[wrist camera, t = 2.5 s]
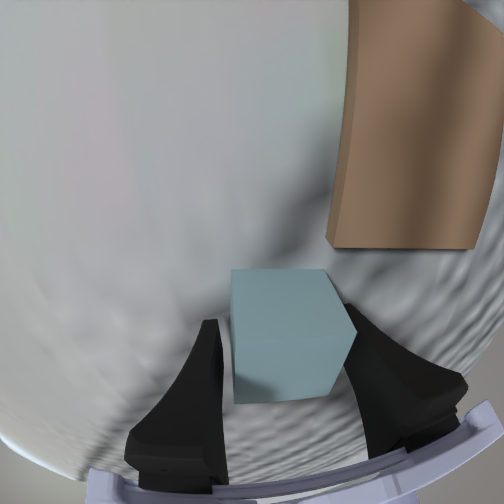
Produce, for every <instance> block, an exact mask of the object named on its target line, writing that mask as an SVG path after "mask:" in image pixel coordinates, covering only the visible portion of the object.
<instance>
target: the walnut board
mask: <svg viewBox="0 0 504 504" xmlns="http://www.w3.org/2000/svg"><path fill="white" fill-rule="evenodd" d="M503 124H504V38H503V33H502V32H501V31H500V30H499V29H498V28H497V27H495V26H494V25H493V24H492V23H491V22H490V21H488V20H487V19H486V18H485V17H483V16H482V15H481V14H480V13H478V12H477V11H476V10H474V9H473V8H472V7H470V6H469V5H468V4H466V3H465V2H463V1H462V0H349V34H348V58H347V75H346V89H345V101H344V112H343V122H342V131H341V139H340V148H339V155H338V163H337V170H336V177H335V184H334V190H333V197H332V203H331V209H330V215H329V221H328V226H327V232H326V239H327V240H328V241H329V243H330V244H331V246H332V247H333V248H421V249H474V248H475V245H476V242H477V239H478V236H479V233H480V230H481V227H482V224H483V221H484V218H485V214H486V211H487V208H488V204H489V200H490V196H491V192H492V188H493V184H494V180H495V175H496V170H497V165H498V160H499V154H500V148H501V141H502V133H503Z"/></svg>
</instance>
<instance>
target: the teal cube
mask: <svg viewBox="0 0 504 504" xmlns="http://www.w3.org/2000/svg"><path fill="white" fill-rule="evenodd" d="M356 334H357V331H356V329H355V327H354V325H353V323H352V321H351V319H350V317H349V315H348V313H347V311H346V310H345V308H344V306H343V304H342V302H341V300H340V298H339V296H338V294H337V293H336V291H335V289H334V287H333V285H332V283H331V281H330V280H329V278H328V276H327V274H326V272H325V271H324V269H252V270H231V299H230V344H231V362H232V378H233V393H234V404H250V403H267V402H279V401H290V400H299V399H307V398H315V397H322V396H328V395H329V393H330V391H331V389H332V387H333V385H334V383H335V381H336V379H337V377H338V375H339V372H340V370H341V368H342V366H343V364H344V362H345V359H346V357H347V355H348V353H349V350H350V348H351V346H352V344H353V341H354V339H355V336H356Z"/></svg>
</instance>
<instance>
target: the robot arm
mask: <svg viewBox="0 0 504 504" xmlns="http://www.w3.org/2000/svg"><path fill="white" fill-rule="evenodd" d="M343 306H344V308H345V310H346V311H347V313H348V315H349V317H350V319H351V321H352V323H353V325H354V327H355V329H356V331H357V334H356V336H355V339H354V341H353V344H352V346H351V348H350V350H349V353H348V355H347V357H346V359H345V362H344V364H343V365H344V368H345V370H346V372H347V375H348V377H349V379H350V382H351V384H352V386H353V389H354V392H355V395H356V398H357V402H358V406H359V409H360V414H361V418H362V422H363V427H364V432H365V437H366V443H367V450H368V459H369V460H367V461H363V462H360V463H357V464H354V465H350V466H347V467H343V468H339V469H335V470H331V471H327V472H323V473H319V474H314V475H309V476H304V477H298V478H293V479H286V480H279V481H272V482H263V483H253V484H240V485H229V479H228V471H227V463H226V454H225V444H224V432H223V419H222V397H223V375H224V361H223V347H222V342H221V336H220V331H219V325H218V320H217V319H211V320H204V321H203V322H202V325H201V328H200V331H199V334H198V336H197V339H196V341H195V344H194V346H193V348H192V350H191V352H190V355H189V357H188V359H187V360H186V362H185V364H184V366H183V368H182V370H181V371H180V373H179V375H178V376H177V378H176V379H175V381H174V382H173V384H172V385H171V387H170V388H169V390H168V391H167V392H166V394H165V395H164V396H163V397H162V399H161V400H160V401H159V402H158V403H157V405H156V406H155V407H154V408H153V409H152V410H151V411H150V412H149V413H148V414H147V415H146V416H145V417H144V418H143V419H142V420H141V421H140V422H139V423H138V424H137V425H136V426H135V427H133V428H132V429H131V430H130V432H129V435H128V438H127V442H126V447H125V455H124V460H125V461H126V462H127V463H128V464H129V465H130V466H132V467H133V468H135V469H136V470H137V471H139V480H132V479H126V478H123V477H122V476H121V475H119V474H116V473H113V472H109V471H104V470H100V469H95V468H90V471H89V478H88V485H87V493H86V502H85V504H257V501H255V500H247V499H259V498H268V497H276V496H284V495H290V494H296V493H302V492H307V491H312V490H317V489H321V488H325V487H330V486H334V485H337V484H341V483H345V482H348V481H351V480H355V479H358V478H361V477H364V476H368V475H370V474H373V473H376V472H379V471H381V470H384V469H386V470H384V471H381V472H380V474H379V475H378V476H376V477H375V478H373V479H371V480H368V481H365V482H361V483H358V484H355V485H351V486H348V487H344V488H340V489H337V490H333V491H329V492H325V493H321V494H317V495H312V496H308V497H303V498H299V499H294V500H289V501H284V502H278V503H272V504H420V503H419V500H418V497H417V494H416V490H418V489H420V488H422V487H424V486H426V485H428V484H430V483H432V482H433V481H435V480H437V479H439V478H441V477H443V476H444V475H446V474H448V473H449V472H451V471H453V470H454V469H456V468H457V467H459V466H461V465H462V464H464V463H465V462H467V461H468V460H470V459H471V458H473V457H474V456H476V455H477V454H478V453H480V452H481V451H482V450H484V449H485V448H487V447H488V446H489V445H490V444H492V443H493V442H494V441H496V440H497V439H498V438H499V437H501V436H502V435H503V434H504V429H503V427H502V425H501V423H500V421H499V419H498V418H497V415H496V414H495V412H494V410H493V408H492V407H491V405H490V403H489V401H488V400H487V399H486V400H484V401H483V402H481V403H480V404H478V405H476V406H475V407H474V408H472V409H471V410H470V411H469V412H468V413H467V414H466V415H465V416H464V417H463V418H461V419H459V420H458V418H457V416H456V414H455V413H457V409H456V407H455V406H456V404H457V403H458V402H459V401H460V400H461V399H462V397H463V396H464V395H465V394H466V392H467V390H468V385H467V383H466V381H465V380H464V378H463V376H462V375H461V373H458V372H455V371H452V370H449V369H446V368H443V367H441V366H438V365H436V364H433V363H431V362H429V361H427V360H425V359H423V358H421V357H419V356H417V355H415V354H413V353H412V352H410V351H408V350H407V349H405V348H404V347H402V346H401V345H399V344H398V343H396V342H395V341H394V340H392V339H391V338H390V337H388V336H387V335H386V334H384V333H383V332H382V331H381V330H379V329H378V328H377V327H376V326H375V325H374V324H372V323H371V322H370V321H369V320H368V319H367V318H366V317H365V316H363V315H362V314H361V313H360V312H359V311H358V310H357V309H356V308H355V307H353V306H352V305H351V304H350V303H348V304H343ZM387 468H388V469H387Z"/></svg>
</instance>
